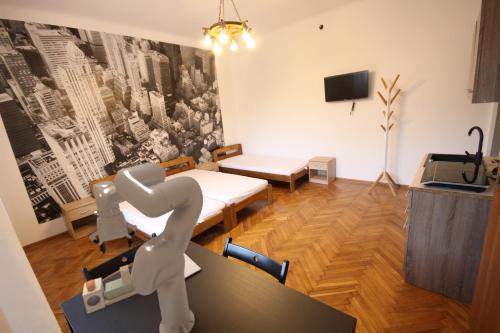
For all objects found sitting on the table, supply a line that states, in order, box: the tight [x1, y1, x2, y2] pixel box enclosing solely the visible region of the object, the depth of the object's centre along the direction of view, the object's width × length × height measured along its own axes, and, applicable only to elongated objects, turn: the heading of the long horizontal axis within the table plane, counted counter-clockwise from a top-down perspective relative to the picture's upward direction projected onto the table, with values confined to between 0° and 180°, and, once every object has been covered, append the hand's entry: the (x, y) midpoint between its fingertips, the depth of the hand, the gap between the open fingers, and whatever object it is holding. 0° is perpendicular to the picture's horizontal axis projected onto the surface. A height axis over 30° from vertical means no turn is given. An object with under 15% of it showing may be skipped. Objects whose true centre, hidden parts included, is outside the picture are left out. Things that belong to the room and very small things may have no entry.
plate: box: [184, 252, 202, 279], centre depth 114 cm, size 19×19×2 cm
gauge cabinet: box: [82, 277, 106, 315], centre depth 96 cm, size 8×6×9 cm
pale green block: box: [104, 290, 138, 307], centre depth 102 cm, size 7×18×6 cm, turn 120°
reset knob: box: [85, 279, 96, 291], centre depth 93 cm, size 3×3×3 cm
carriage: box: [104, 264, 134, 300], centre depth 100 cm, size 6×10×10 cm, turn 120°
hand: (117, 248), depth 97 cm, fingers open, 9 cm apart
